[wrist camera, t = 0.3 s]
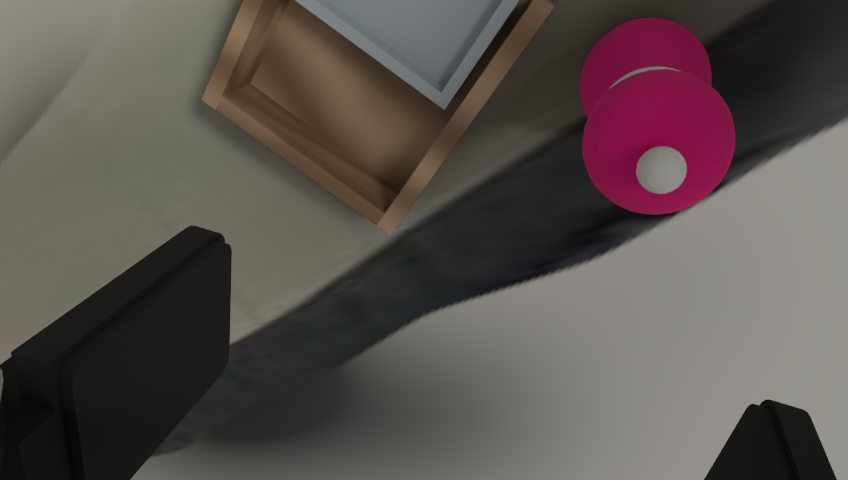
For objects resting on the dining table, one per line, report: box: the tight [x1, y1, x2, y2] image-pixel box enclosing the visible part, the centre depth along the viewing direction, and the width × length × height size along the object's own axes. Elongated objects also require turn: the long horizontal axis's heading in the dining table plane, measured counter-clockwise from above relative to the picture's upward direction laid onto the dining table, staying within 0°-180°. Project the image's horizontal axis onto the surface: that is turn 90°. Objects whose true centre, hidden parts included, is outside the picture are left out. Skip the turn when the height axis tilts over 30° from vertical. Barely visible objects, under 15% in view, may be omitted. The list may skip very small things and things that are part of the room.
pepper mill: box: [580, 18, 735, 215], centre depth 31 cm, size 7×7×20 cm
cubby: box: [201, 0, 558, 235], centre depth 41 cm, size 18×16×5 cm
